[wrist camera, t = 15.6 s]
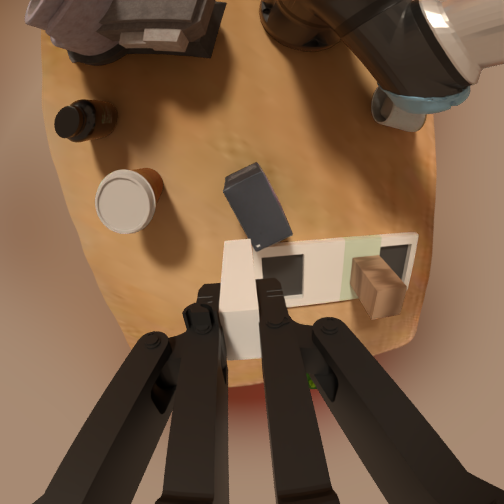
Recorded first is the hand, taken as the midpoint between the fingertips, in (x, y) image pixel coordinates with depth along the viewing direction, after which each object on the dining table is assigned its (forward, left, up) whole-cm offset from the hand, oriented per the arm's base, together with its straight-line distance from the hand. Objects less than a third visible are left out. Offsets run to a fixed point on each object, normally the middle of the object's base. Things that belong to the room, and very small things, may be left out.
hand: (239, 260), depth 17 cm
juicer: (-13, -31, -33) cm, 47 cm away
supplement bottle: (+5, -26, -33) cm, 42 cm away
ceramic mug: (-28, +14, -33) cm, 45 cm away
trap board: (+4, +28, -32) cm, 43 cm away
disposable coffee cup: (+11, -12, -33) cm, 36 cm away
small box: (+2, +5, -33) cm, 33 cm away
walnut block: (+1, +32, -31) cm, 44 cm away
